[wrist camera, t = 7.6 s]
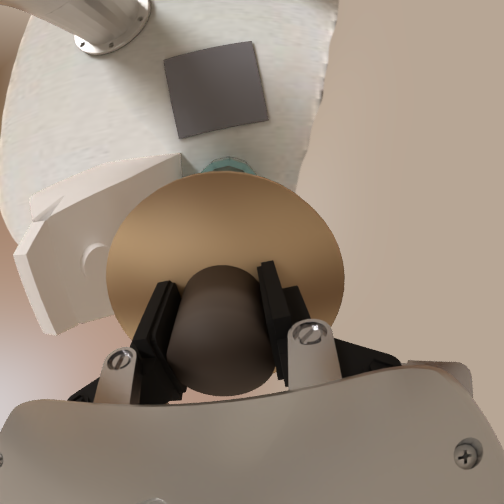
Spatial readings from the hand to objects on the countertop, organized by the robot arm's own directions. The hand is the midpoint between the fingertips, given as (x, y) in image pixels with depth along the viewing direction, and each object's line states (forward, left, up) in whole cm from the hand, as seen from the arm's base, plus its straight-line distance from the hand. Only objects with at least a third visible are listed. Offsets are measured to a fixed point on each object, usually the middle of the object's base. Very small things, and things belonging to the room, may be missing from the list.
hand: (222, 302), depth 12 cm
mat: (-14, +1, -27) cm, 31 cm away
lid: (0, 0, -1) cm, 1 cm away
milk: (-1, -12, -28) cm, 30 cm away
